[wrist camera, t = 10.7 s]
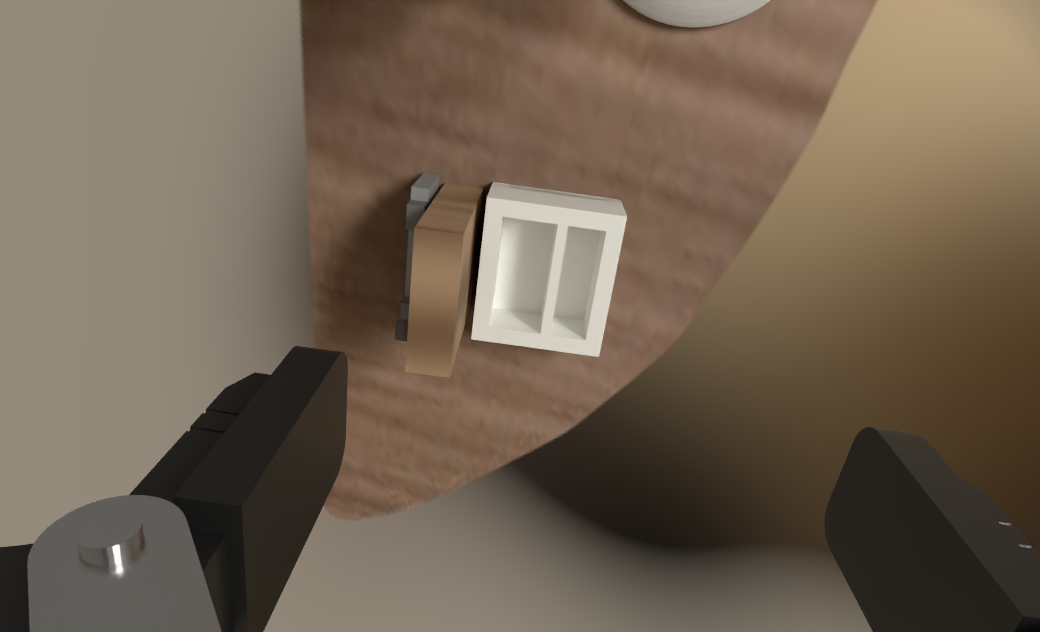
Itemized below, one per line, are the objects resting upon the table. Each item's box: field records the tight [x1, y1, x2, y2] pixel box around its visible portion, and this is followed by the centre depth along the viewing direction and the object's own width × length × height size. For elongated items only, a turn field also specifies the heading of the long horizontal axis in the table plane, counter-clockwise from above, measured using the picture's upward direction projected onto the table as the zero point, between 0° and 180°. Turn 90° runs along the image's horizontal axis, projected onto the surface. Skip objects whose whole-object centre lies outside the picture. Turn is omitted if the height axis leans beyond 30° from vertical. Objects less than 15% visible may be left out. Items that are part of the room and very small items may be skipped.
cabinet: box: [400, 172, 627, 357], centre depth 40 cm, size 9×12×5 cm
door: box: [395, 183, 483, 378], centre depth 38 cm, size 8×3×10 cm, turn 173°
